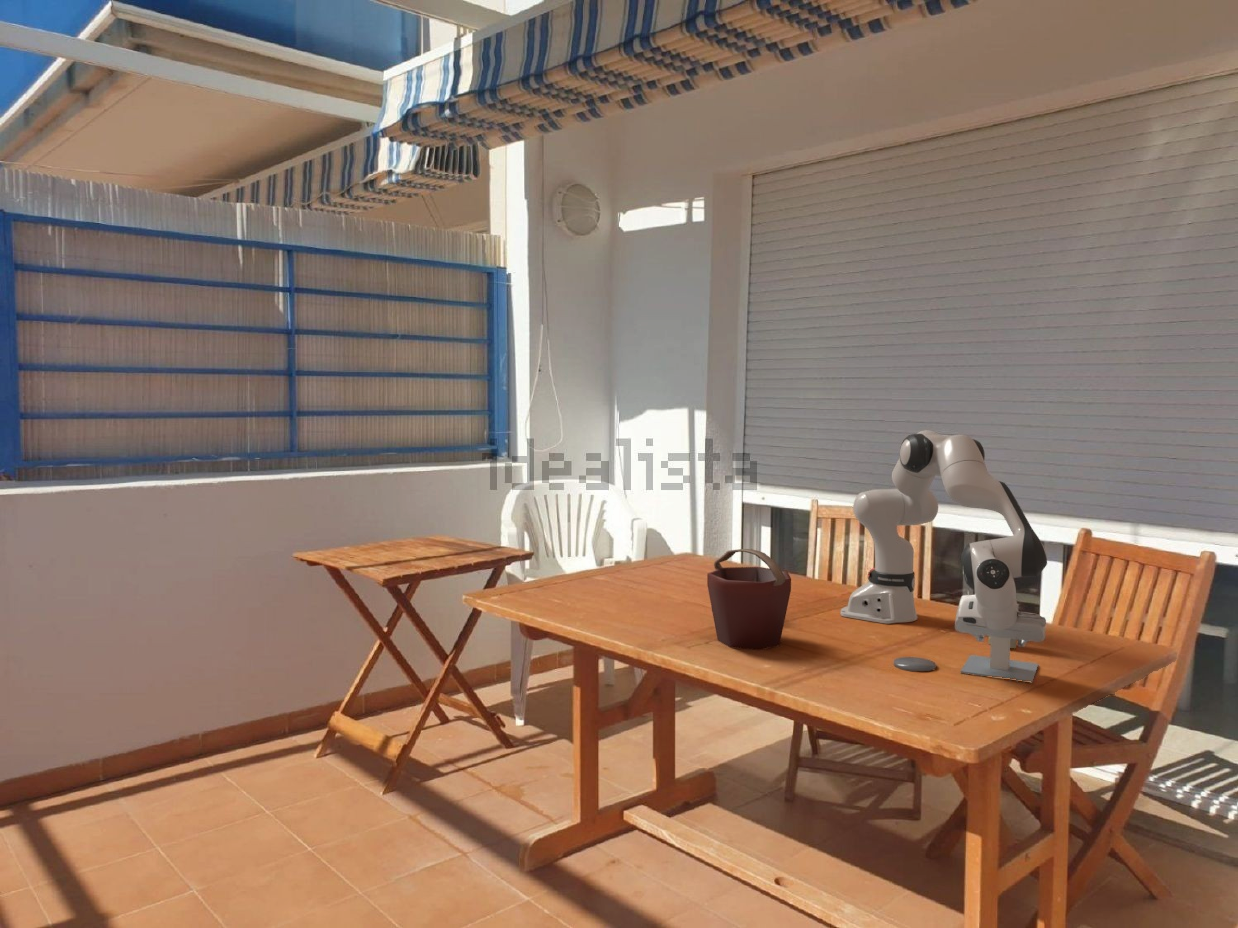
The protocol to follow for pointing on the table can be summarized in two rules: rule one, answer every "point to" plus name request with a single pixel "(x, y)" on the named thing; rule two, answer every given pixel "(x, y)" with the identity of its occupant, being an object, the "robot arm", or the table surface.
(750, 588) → the bucket
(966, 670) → the tile
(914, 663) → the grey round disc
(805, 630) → the table surface
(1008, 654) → the block
